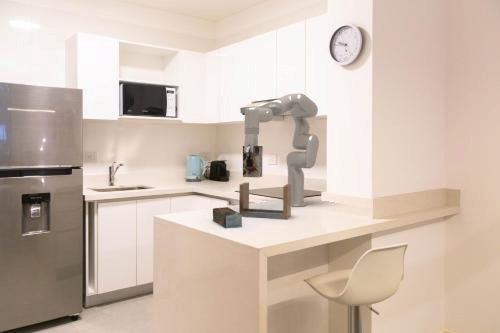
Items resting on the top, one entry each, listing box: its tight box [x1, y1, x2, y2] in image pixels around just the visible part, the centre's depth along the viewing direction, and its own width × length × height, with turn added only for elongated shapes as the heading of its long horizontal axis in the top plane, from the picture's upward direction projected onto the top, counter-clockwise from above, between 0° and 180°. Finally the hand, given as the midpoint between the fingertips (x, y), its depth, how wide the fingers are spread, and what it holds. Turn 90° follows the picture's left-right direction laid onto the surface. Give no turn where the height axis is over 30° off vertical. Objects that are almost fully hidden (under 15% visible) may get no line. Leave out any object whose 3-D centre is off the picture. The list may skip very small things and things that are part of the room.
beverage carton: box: [212, 206, 243, 229], centre depth 188 cm, size 8×19×7 cm, turn 22°
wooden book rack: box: [238, 182, 292, 220], centre depth 207 cm, size 11×24×16 cm, turn 75°
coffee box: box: [242, 145, 264, 178], centre depth 214 cm, size 9×6×16 cm
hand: (251, 166), depth 215 cm, fingers closed on coffee box, 6 cm apart
